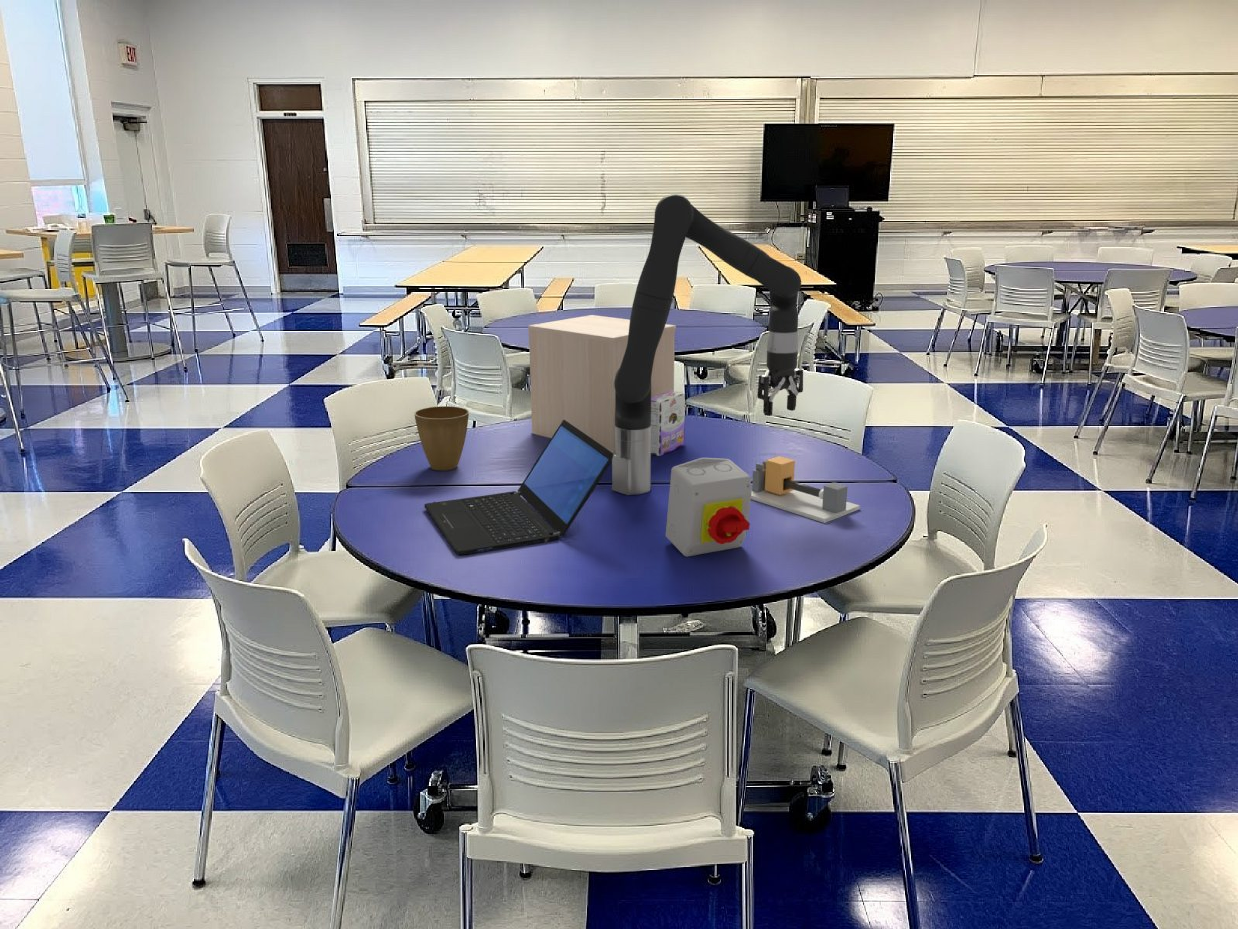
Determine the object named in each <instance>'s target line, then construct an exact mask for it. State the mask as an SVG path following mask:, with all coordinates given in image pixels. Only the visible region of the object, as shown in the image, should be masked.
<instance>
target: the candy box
mask: <svg viewBox="0 0 1238 929" xmlns="http://www.w3.org/2000/svg"><path fill="white" fill-rule="evenodd" d="M685 416H686V393H685V392H681V391H675V390H674V391H668V392H666V393H663V394H660V395H657V396H654V397H652V398H651V456H656V457H660V456H663V455H666V454H667V453H670V452H672V451H674V450H676V449H679V448H681V447H683V446H685V445H686V444H685V440H686V439H685V438H686V436H685V435H686V434H685V433H686V432H685V430H686V429H685V427H686V426H685V425H686V422H685V421H686V419H685V418H686V417H685Z"/></svg>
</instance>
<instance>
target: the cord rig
mask: <svg viewBox="0 0 1238 929" xmlns="http://www.w3.org/2000/svg"><path fill="white" fill-rule="evenodd" d="M765 475H766V460H763V461H762V463H758V462H756V463H755V469H753V470H752V481H751V491H752V493H751V500H752V501H756V502H758V503H762V504H765V505H767V506H770V507H774V508H777V509H780V510H783V511H786V512H789V513H793V514H796V515H799V516H801V517H805V518H807V519H811V520H814V521H817V522H819V523H820V522H821V523H823V524H826V523H828V522H830V521H831V522H832V521H833V520H836V519H839V518H841V517H843V516H844V517H845V516H846V515H849V514H851V513H853V512H856V511H858V510H860V508H861V507H860V506H861V505H860V504H855V503H852V502H848V501H847V497H848V488H849V486H847V485H845V484H840V483H839V482H836V481H835V482H830V483H828V484H825V485H823V488H822V489H821V488H819V487H818V488H817V487H815V486H810V485H807V484H805V483H800V482H797V481H795V480H794V481H791V480H787V479H784V480H783V487H786V488H790V489H793V491H790V492H787V493H784V494H781V495H779V494H776V493H772V492H769V491H766V490H765Z"/></svg>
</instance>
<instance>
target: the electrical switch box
mask: <svg viewBox="0 0 1238 929" xmlns="http://www.w3.org/2000/svg"><path fill="white" fill-rule="evenodd" d="M751 478H752V477H751V476H750V475H749V474H748V473H747V472H746V471H745V470H743V469H742V468H741V467H739V465H737V464H736V463H734V462H733V461H732V460H730V459H729V458H718V457H717V458H716V457H699V458H696V459H693V460H690V461H687V462H684V463H680V464H678V465H674V466H672V468H671V472H670V481H669V482H670V484H669V493H668V503H667V505H668V506H667V515H666V524H665V526H666V527H665V537H666V539H668V540H669V541H670V543H672V545H673V546H674V547H675V548H676V549H677V550H678V551H679V552H680V554H682V555H683V556H684V557H686V558H688V557H693V556H697V555H703V554H710V553H715V552H720V551H725V550H726V551H727V550H731V549H738V548H741V547H742V545H743V543H744V541H745V539H746V536H747V531H748V530H750V525H751V523H750V522H749V515H750V510H751V509H750V507H751V502H752V501H751V500H752V499H751V493H752V480H751Z"/></svg>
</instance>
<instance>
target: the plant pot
mask: <svg viewBox="0 0 1238 929" xmlns="http://www.w3.org/2000/svg"><path fill="white" fill-rule="evenodd" d="M469 412H470V411H469V409H467V408H464V407H460V406H450V405H446V406H445V405H442V406H430V407H424V408H420V409H418V410H416V411H415V412H414V415H413V416H414V420H415V425H416V429H417V433H418V437H419V440H420V443H421V447H422V449H423V452H424V455H425V457H426V460H427V463H428V464H429V466H430V469H431V470H434V471H451V470H455V469H456V468H458V467H459V466H458V465H459V464H460V463H459V462H460V461H461V460H460V459H461V457H462V453H463V451H464V446H465V441H466V436H467V431H468V426H469V425H468V424H469V417H470V416H469V414H470V413H469Z"/></svg>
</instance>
